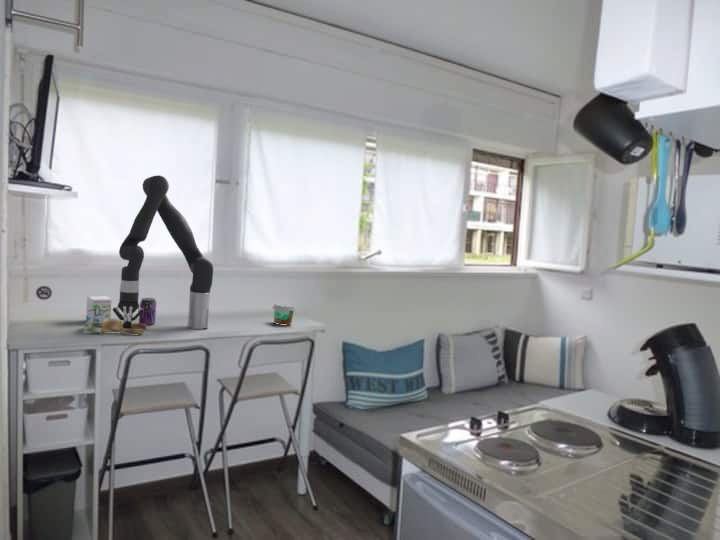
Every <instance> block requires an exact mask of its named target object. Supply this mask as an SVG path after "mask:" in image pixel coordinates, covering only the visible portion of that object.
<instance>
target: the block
mask: <svg viewBox="0 0 720 540" xmlns="http://www.w3.org/2000/svg"><path fill="white" fill-rule="evenodd" d="M122 323H124V321H123V320H120V319H119V318H111V319H105V320H104V321H103V322H102V329H101V333H102V332H120V331H121V329H122ZM120 333H121V332H120Z"/></svg>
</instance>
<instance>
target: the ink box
mask: <svg viewBox="0 0 720 540" xmlns="http://www.w3.org/2000/svg"><path fill="white" fill-rule="evenodd" d="M112 301H113V299H112V298H110V297H109V296H107V295H102V296H101V295H100V296H99V295H96V296H95V295H92V296H87V299H86V316H85V317H86V318H85V321H86V322H87V321H88V320H90V319H93V322H103V321H104V320H105V319H112V317H111V316H112Z"/></svg>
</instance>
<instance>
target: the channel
mask: <svg viewBox="0 0 720 540" xmlns="http://www.w3.org/2000/svg"><path fill="white" fill-rule="evenodd" d="M147 326H148V325H147V324H140V323H135V322H134V323H131V328H130V329H125V328H124V322H123V323H122V329H121V332H120V334H138V335H137V336H140V335H143V336H144V331H146V330H147ZM84 333H101V334H102V322H93V319H90V320H88V321H86V322H85V323H84V327H83V334H84Z"/></svg>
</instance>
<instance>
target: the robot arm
mask: <svg viewBox="0 0 720 540" xmlns="http://www.w3.org/2000/svg"><path fill="white" fill-rule="evenodd" d="M169 189H170V186H169V181H168V180H167V178H166V177H165V176H162V175H159V174H158V175H152V176H149V177H147V178H145V179H144V180H143V182H142V190H143V192H144V194H145V196H146V198H145V200H144V202H143V205H142V206H141V208H140V210H139V212H138V213H137V215H136V216H135V218H134V220H133V222H132V223H133V224H132V225H131V228H130V230H129V233H128V234H127V236H126V237H125V238H124V240H123V242H122V243H121V245H120V246H119V251H118V254H119V257H120V259H122V260H124V261H128V262H127V265H125V266H123V267H122V269H121V278H120V286H119V299H118V304H117V306H115V307H113V308H112V311H113V313H114V314H115V316H116V317H117V319H120V320H123V323H124V328H125V329H130V328H131V323H132V321H136V320H137V318H139V315H140V314H141V313H142V312H143V311H144V309H142V308H141V307H140V302H139V295H140V294H139V292H140V270H141V268H142V265H143V262H144V257H145V254H144V253H145V251H144V249H143V247H142V246H141V245H140V246H139V244H140V243H142V242H145V241H146V239H147V237H148V234H149V231H150V229H151V226H152V223H153V221H154V218H155V216H156V214H157V213H158V215H159V217H160V218H161V220H162V222H163V224H164V226H165V229H166V230H167V231H168V233H169V235H170V237H171V238H172V240H173V241H174V242H175V244H176V246H177V247H178V249H179V250H180V251H181V253H182V254H183V256H184V258H185V260H186V263H187V265H188V267H189V270H190V272H191V274H192V281H191V285H190V287H189V300H188V302H189V303H188V315H187V328H189V329H192V330H204V329H203V328H208V327H209V317H210V316H209V315H210V298H211V296H210V295H211V288H212V285H213V277H214V265H213V263H212V262H211V261H210V260H209V259H207V258H206V257H204V255H203V253H202V252H201V250H200V249H199V247H198V245H197V243H196V240H195V237H194V234H193V231H192V228H191V227H190V225H189V223H188V221H187V220H186V218H185V217H184V215H183V214H182V213H181V212H180V210H178V209H177V208H176V207H175V206H174V205H173V203H171V201H170V199H169V197H168V195H167V193H168V192H169ZM120 311H121V312H122V313H121V312H120ZM136 311H137V312H136ZM135 312H136V314H135V315H134V313H135ZM133 315H134V316H133Z"/></svg>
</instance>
